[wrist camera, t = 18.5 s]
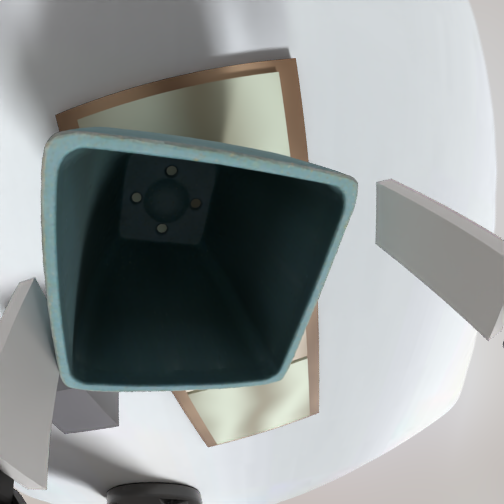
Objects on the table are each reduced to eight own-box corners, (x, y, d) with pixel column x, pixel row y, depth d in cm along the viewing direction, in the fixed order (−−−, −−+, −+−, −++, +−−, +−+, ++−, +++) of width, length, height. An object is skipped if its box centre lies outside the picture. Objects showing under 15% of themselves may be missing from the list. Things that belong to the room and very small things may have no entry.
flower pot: (94, 104, 13) (42, 130, 6) (261, 130, 16) (367, 181, 9) (81, 263, 17) (63, 391, 9) (225, 271, 20) (282, 384, 13)
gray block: (70, 386, 23) (64, 433, 18) (38, 346, 20) (25, 396, 16) (118, 375, 23) (118, 426, 19) (89, 333, 21) (82, 386, 16)
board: (207, 442, 31) (208, 449, 30) (58, 113, 14) (53, 115, 13) (316, 408, 33) (319, 414, 32) (291, 58, 16) (297, 57, 15)
